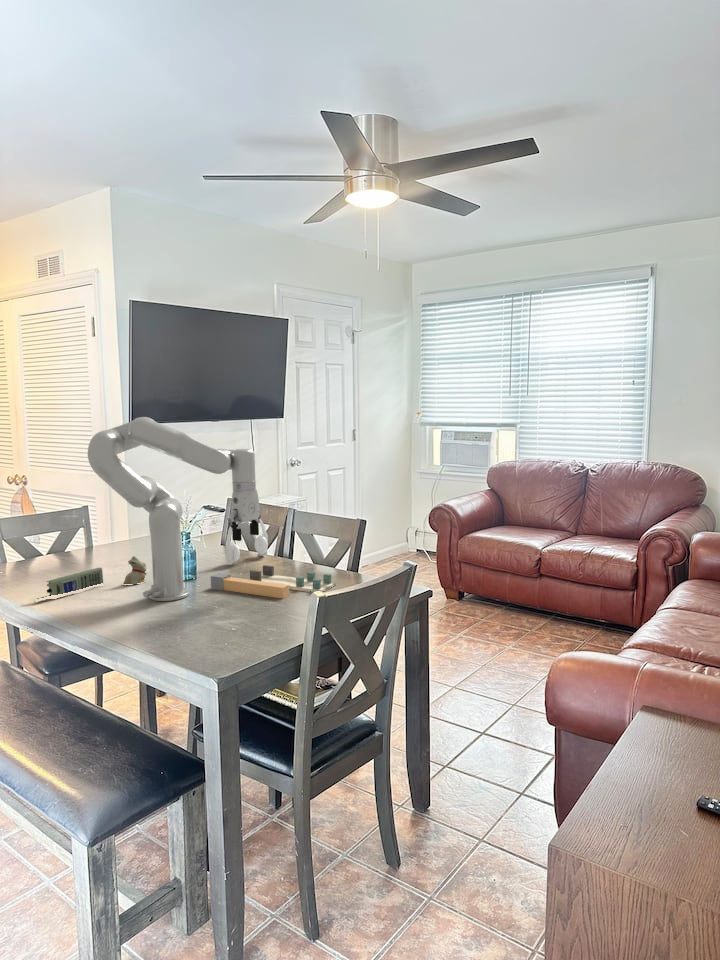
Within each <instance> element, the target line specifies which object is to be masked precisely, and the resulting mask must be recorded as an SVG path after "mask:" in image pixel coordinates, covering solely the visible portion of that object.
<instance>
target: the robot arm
mask: <svg viewBox="0 0 720 960" xmlns="http://www.w3.org/2000/svg"><path fill="white" fill-rule="evenodd" d="M140 446H144V447H146V448H149V449H151V450H154V451H157V452H159V453H162V454H164V455H167V456H170V457H172V458H174V459H176V460H179V461H182V462H184V463H187V464H189V465H191V466H193V467H196V468H199V469H201V470H203V471H207V472H209V473H212V474H214V475H222V474H225V473H226V472H227V471H229V470H231V480H232V481H231V482H232V484H231V485H232V494H231V506H230V507H231V510H230V514H229V515H228V516H227V520H228V525H229V527H230V526H231V528H232V533H231V536H232V537H231V538H232V541H236V542H237V541H238V542H241V541H242V528H241V526H242V522H247V523H249V534H250V535H251V536H260V535H259V534H260V530H259V529H260V528H259V524H260V523H259V522H260V521H259V519H261V514H262V511H263V510H262V508H261V507H260V502H259V501H260V499H259V494H258V489H257V487H256V486H257V484H256V482H257V481H256V457H255V452H254V450H253V449H252V448H251V449H250V448H238V449H229V448H228V449H227V448H214V447H211V446H209V445H207V444H204V443H201V442H199V441H197V440H195V439H193V438H191V437H190V436H189V435H188V434H186V433H184V432H183V431H180V430H179V429H175V428H172V427H170V426H167V425H165V424H161V422H160V423H159V422H157V421H155V420H154V419H152V418H151V417H148V416H141V417H140V416H139V417H136V418H134V419H133V420H132V421H129V422H127V423H123V424H120V425H118V426H115V427H112V428H109V429H105V430H101V431H99V432H96V433H95V434H94V435H93V436H92V438H91V439H90V440H89V444H88V447H87V458H88V459H87V460H88V462H89V465H90V467H91V469H92V470H93V472H94V473H95V474H96V475H97V476H98V477H99V479H101V480H102V481H103V482H104V483H106V485H108V486H109V487H110V488H111V489H112V490H113V491H115V492H116V493H117V494H118V495H119V496H120V497H121V498H123V499H124V500H125V501H126V502H127V503H128V504H129V505H131V506H132V507H133V508H138V509H141V508H142V509H144V511H146V512H147V513H148V514H149V515H148V528H149V535H150V549H151V562H152V563H151V564H152V580H153V581H152V582H153V584H152V585H151V586H150V587H151V588H150V589H148V590H146V591H145V590H144V591H143V593H142V596H143V597H144V598H149V599H150V600H152V601H156V602H171V601H178V600H181V599H184V598H186V597H187V596H189V589H187V588H185V587H184V585H185V584H184V566H183V564H184V563H183V547H182V546H183V545H182V544H183V543H182V533H181V532H182V531H181V519H182V516H183V507H182V505H181V503H180V501H179V500H178V499H177V498H176V497H174V495H173V494H171V493H170V492H169V491H168V490H167V489H165V488H164V487H163V486H162V485H161V484H159V482H158V481H156V480H154V479H153V478H152V477H150V476H146V475H139V474H138V473H137V472H136V471H134V470H133V469H132V468H131V467H130V466H129V465H128V464H126V463H125V462H124V461H123V460H121V458H119V456H118V454H122V453H124V452H128V451H129V450H132V449H135V448H137V447H140ZM248 521H251V522H248ZM236 522H238V524H236Z"/></svg>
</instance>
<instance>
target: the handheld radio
mask: <svg viewBox="0 0 720 960" xmlns="http://www.w3.org/2000/svg"><path fill="white" fill-rule="evenodd" d="M103 574H104V573H103V567H96V568H91V569H88V570H84V571H80V572H77V573H73V574H69V575H64V576H61V577H57V578H54V579H49V580H47V581H46V587H47V588H48V589H46V593H47V594H49V595H47V596H51V595H58V594H63V593H68V592H71V591H76V590H79V589H83V588H86V587H89V586H93V585H97V584H101V583H103V584H104V575H103ZM47 596H42V597H41V598H44V597H47ZM37 599H39V597H38V598H37Z"/></svg>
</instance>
